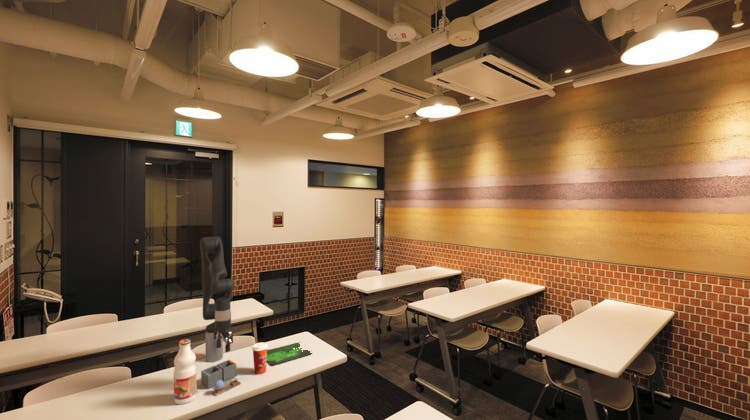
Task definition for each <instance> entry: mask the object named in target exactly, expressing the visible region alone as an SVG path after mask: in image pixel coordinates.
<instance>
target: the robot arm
mask: <svg viewBox="0 0 750 420" xmlns="http://www.w3.org/2000/svg"><path fill="white" fill-rule="evenodd" d="M199 247H200V258H201V283H202V284H201V286H202V318H203V320H204V321H212V320H214V321H213V322H211V323H209V324H207V325H206V327H205V361H206V362H208V363H209V362H210V363H213V362H217V361H220V360H222V359H223V357H224V351H225V353H228V352H231V344H234V335H233V331H232V330H231V331H230V330H229V329H230V328H231V326H232V309H231V299H232V295H233V291H234V287H235V281H233V279H232V278H227V276H228V272H227V268H226V264H225V258H224V257H225V256H224V247H223V241H222V239H221V237H220V236H207V237H202V238H201V239H200V241H199ZM213 253H216V256H215V257H214V259H213V261H211V260H210V259H209V257H208V255H209V254H213ZM220 294H224V295H223V296H221V297H217V298H216V299H215V301H214V303H210V302H211V301H210V300H211V299H212V296H213V295H220ZM224 344H225V349H224V347H223V346H224Z"/></svg>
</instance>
